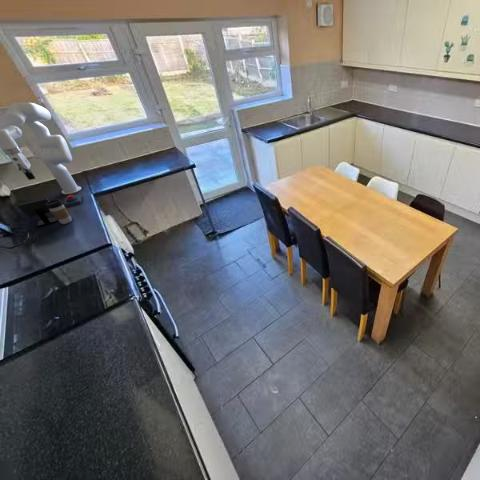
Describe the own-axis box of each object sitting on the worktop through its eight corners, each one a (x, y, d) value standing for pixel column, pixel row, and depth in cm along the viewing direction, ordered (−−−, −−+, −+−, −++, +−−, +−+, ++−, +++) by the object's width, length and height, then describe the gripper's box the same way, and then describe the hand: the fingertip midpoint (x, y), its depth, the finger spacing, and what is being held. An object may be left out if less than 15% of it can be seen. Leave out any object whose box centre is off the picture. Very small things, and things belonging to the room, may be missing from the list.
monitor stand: (39, 222, 180) (29, 208, 173) (58, 217, 184) (48, 204, 178) (38, 227, 175) (27, 213, 169) (57, 222, 179) (47, 208, 173)
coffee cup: (65, 225, 176) (51, 205, 166) (55, 224, 177) (40, 204, 168) (77, 218, 182) (64, 199, 173) (67, 217, 184) (53, 198, 174)
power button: (68, 197, 199) (66, 195, 198) (74, 196, 201) (72, 194, 200) (68, 199, 197) (66, 197, 196) (74, 198, 198) (72, 196, 197)
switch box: (66, 201, 202) (63, 196, 200) (81, 197, 206) (78, 193, 204) (66, 207, 195) (62, 202, 193) (81, 203, 199) (78, 198, 197)
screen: (29, 215, 174) (17, 204, 167) (56, 208, 180) (46, 197, 173) (29, 217, 173) (17, 205, 166) (56, 210, 180) (46, 199, 172)
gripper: (18, 152, 160) (38, 181, 171) (22, 146, 170) (41, 173, 181) (1, 155, 157) (22, 184, 168) (6, 148, 167) (26, 176, 178)
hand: (32, 178), depth 175 cm, fingers closed
